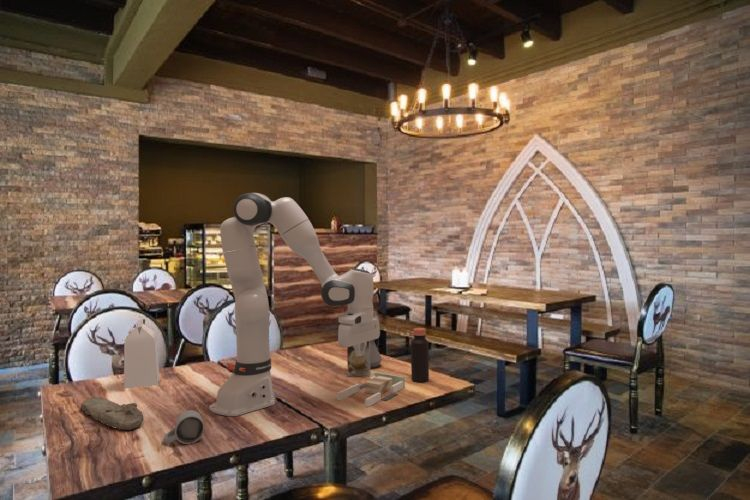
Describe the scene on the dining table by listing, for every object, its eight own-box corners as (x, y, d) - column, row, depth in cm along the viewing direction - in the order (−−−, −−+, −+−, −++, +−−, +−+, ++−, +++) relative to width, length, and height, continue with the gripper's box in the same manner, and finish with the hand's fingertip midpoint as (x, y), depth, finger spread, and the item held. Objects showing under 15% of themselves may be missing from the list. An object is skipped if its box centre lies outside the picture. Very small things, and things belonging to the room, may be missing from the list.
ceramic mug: (202, 430, 140) (201, 404, 140) (205, 441, 133) (203, 414, 133) (163, 438, 136) (161, 411, 136) (163, 449, 129) (162, 421, 128)
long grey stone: (104, 406, 168) (73, 416, 160) (103, 391, 167) (71, 400, 160) (153, 423, 146) (120, 436, 138) (151, 406, 146) (118, 418, 138)
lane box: (367, 407, 157) (367, 395, 157) (336, 400, 165) (336, 388, 165) (404, 387, 177) (404, 376, 177) (375, 382, 185) (375, 371, 184)
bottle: (430, 378, 188) (429, 327, 188) (427, 383, 182) (426, 331, 181) (413, 377, 190) (412, 327, 190) (409, 382, 184) (409, 330, 183)
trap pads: (385, 401, 163) (385, 400, 163) (346, 392, 172) (346, 391, 172) (403, 391, 173) (403, 390, 173) (365, 383, 182) (365, 383, 182)
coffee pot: (387, 366, 206) (386, 332, 206) (364, 371, 200) (364, 335, 199) (360, 356, 224) (359, 325, 223) (339, 360, 217) (338, 328, 217)
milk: (157, 387, 183) (155, 319, 182) (124, 391, 178) (121, 322, 178) (159, 378, 194) (157, 315, 193) (127, 382, 190) (125, 317, 189)
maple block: (379, 395, 169) (379, 384, 169) (365, 393, 173) (365, 382, 173) (392, 389, 177) (392, 378, 177) (379, 386, 180) (379, 375, 180)
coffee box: (346, 376, 192) (346, 337, 192) (349, 372, 199) (348, 333, 198) (369, 376, 192) (368, 337, 191) (371, 372, 198) (370, 333, 197)
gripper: (370, 311, 176) (369, 348, 176) (335, 318, 159) (334, 359, 159) (384, 313, 172) (383, 351, 172) (350, 320, 155) (349, 362, 155)
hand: (359, 355), depth 166 cm, fingers closed
